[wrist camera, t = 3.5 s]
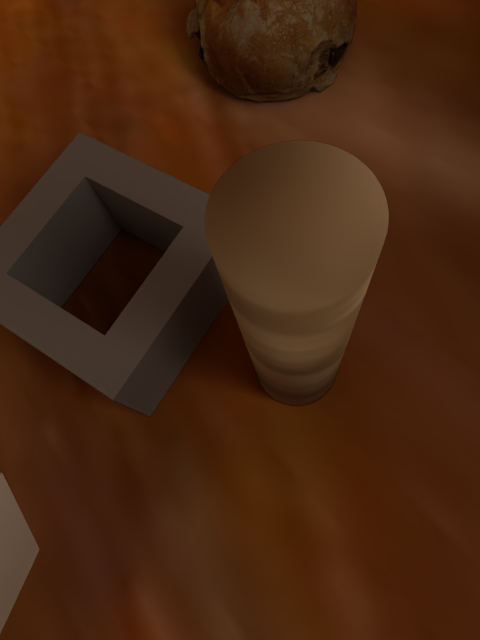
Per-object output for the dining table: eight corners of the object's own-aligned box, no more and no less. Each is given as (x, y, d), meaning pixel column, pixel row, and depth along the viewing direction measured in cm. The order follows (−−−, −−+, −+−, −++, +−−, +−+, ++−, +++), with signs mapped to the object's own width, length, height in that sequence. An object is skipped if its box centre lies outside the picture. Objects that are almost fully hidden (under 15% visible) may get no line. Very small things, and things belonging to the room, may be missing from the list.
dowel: (282, 315, 24) (264, 117, 11) (350, 352, 23) (421, 181, 10) (241, 380, 23) (169, 247, 10) (311, 421, 22) (331, 333, 9)
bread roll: (278, 158, 32) (329, 92, 24) (154, 64, 30) (166, -40, 23) (344, 60, 34) (409, -30, 26) (231, -33, 33) (267, -157, 25)
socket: (115, 190, 28) (79, 131, 23) (253, 260, 25) (243, 210, 21) (11, 323, 26) (-52, 288, 21) (150, 416, 23) (112, 400, 18)
